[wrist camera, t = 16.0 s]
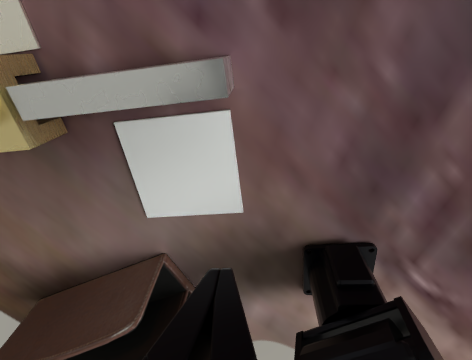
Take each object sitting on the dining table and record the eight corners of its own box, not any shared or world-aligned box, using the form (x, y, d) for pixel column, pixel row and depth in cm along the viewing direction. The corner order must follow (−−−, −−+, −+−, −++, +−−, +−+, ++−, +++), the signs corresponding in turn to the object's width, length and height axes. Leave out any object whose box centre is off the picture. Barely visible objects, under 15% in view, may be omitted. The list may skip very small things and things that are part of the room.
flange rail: (235, 95, 18) (225, 117, 12) (-26, 125, 20) (-125, 153, 15) (210, -118, 13) (176, -233, 8) (-130, -41, 16) (-330, -85, 10)
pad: (243, 210, 22) (243, 212, 22) (148, 215, 23) (147, 217, 23) (229, 109, 18) (229, 110, 18) (115, 121, 19) (113, 122, 19)
